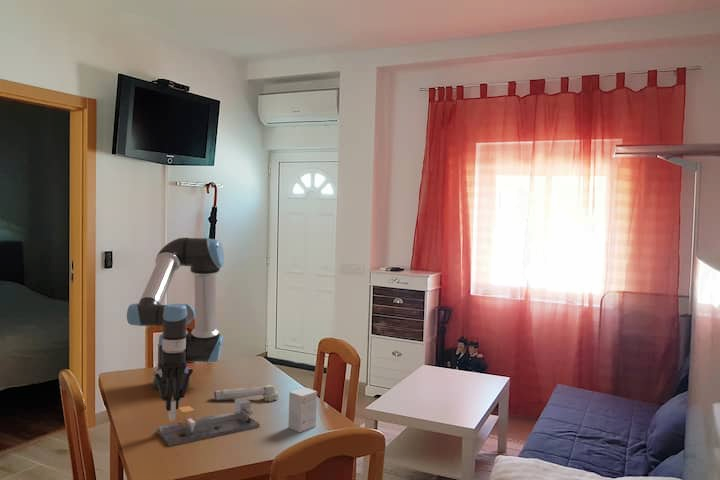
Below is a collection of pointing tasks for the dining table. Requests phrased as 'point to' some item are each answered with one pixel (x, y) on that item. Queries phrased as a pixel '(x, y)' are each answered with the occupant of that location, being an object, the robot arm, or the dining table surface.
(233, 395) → the white elongated piece
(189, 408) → the block
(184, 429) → the bolt plate
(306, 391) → the small box
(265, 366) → the dining table surface
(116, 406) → the dining table surface
